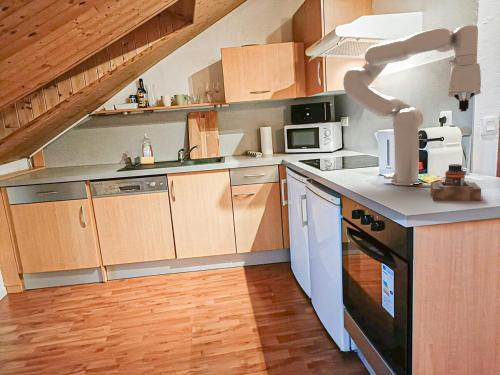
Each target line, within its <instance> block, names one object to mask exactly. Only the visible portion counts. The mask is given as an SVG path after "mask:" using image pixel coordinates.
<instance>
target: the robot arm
mask: <svg viewBox="0 0 500 375" xmlns="http://www.w3.org/2000/svg"><path fill="white" fill-rule="evenodd" d="M478 37H479V29H478V26H477V25H473V24H471V25H464V26H461V27H458V28H456V30H452V31H451V30H449V29H447V28H445V27H439V28H434V29H433V28H432V29H430V30H423V31H420V32H417V33H415V34H411V35H409V36H405V37H404V38H399V39H396V40H391V41H386V42H382V43H378V44H375V45H374V44H373V45H371V46H370V47H368V48H367V49H366V50H365V53H364V60H365V63H364V64H363V66H362V67H353V68H350V69H349V70H347V71H346V72H345V74H344V76H343V82H342V83H343V89H344V92H345V93H346V95H347V97H348V98H349V99H350V100H351V101H353V102H354V103H356V104H357V105H359V106H360V107H363V109H365V110H367V111H368V112H370V113H372V114H373V115H375V116H376V117H378V118H380V119H384V120H386V119H387V120H390V121H391V122H392V127H393V136H394V137H393V140H394V172H393V173H391V174H389V173H387V174H386V173H385V174H383V179H386V180H390V183H391V184H392V185H395V186H411V185H410V184H415V183H419V182H417V181H418V179H420V176H419V175H420V174H419V172H420V171H419V167H420V163H419V162H420V160H419V159H420V134H419V128H420V127H421V126H422V125H423V122H424V115H423V113H422V111H420V110H419V109H417V108H416V107H413V106H412V105H411V104H408V103H407V102H405V101H403V100H401V99H400V98H397V97H394V96H387V95H384V94H382V93H380V92H378V91H377V90H375V89H373V88H371V87H369V86H370V85H371V84H372V83H373V82H374V81H375V80H376V79H377V78H378V76H379V75H380V74H381V73H382V72H383V71H384V69H385V68H386V67H387V66H388V64H391V63H396V62H403V61H406V60H408V59H410V58H411V57H412V56H414V55H418V54H422V53H426V52H432V51H437V52H438V53H445V52H449V51H452V50H453V58H452V59H450V60H449V61H448V62H449V64H450V65H452V66H451V68H450V74H449V81H448V93H447V96H448V97H450V98H455V99H456V100H458V110H460V112H462V113H463V112H467V110H469V102H470V100H471V99H472V98H473V97H474V96H477V95H480V94H482V93H481V92H482V90H481V87H482V76H481V75H482V74H481V73H482V72H481V66H480V63H477V62H478V44H479V43H478V40H479V39H478ZM464 93H465V96H464V97H465V98H463V94H464Z"/></svg>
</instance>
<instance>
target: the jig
mask: <svg viewBox="0 0 500 375" xmlns="http://www.w3.org/2000/svg"><path fill="white" fill-rule="evenodd" d="M430 195H431V198H432V201H451V202H452V201H456V202H457V201H463V202H464V201H469V202H470V201H471V202H473V201H475V202H481V200H482V188H481V187H480V186H479V185H478V184H477V183H476V182H473V181H472V182H471V181H468V180H466V181H465V180H464V186H445V180H444V181H443V180H442V181H441V180H440V181H438V180H437V181H436V182H434V181H433V182H432V181H431V182H430Z"/></svg>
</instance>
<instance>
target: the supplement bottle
mask: <svg viewBox="0 0 500 375" xmlns="http://www.w3.org/2000/svg"><path fill="white" fill-rule="evenodd" d="M465 174H466V173H465V171H464V170H463V165H462V164H458V163H456V164H455V163H453V164H448V170H446V171H445V174H444V175H445V176H444V181H445V186H464V181H465V180H466V179H465V176H466V175H465Z"/></svg>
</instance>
